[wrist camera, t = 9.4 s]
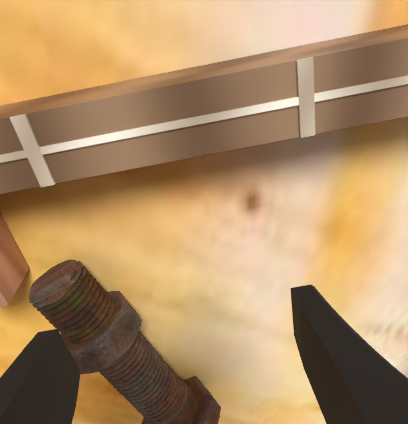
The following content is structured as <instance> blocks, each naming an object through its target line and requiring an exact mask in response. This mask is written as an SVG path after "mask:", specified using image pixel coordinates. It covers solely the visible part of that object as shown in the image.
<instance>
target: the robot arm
mask: <svg viewBox="0 0 408 424" xmlns="http://www.w3.org/2000/svg"><path fill="white" fill-rule="evenodd" d="M291 299H292V312H293V325H294V336H295V339H296V343H297V346H298V350H299V353H300V357H301V360H302V363H303V367H304V369H305V372H306V374H307V377H308V379H309V382H310V384H311V387H312V389H313V392H314V394H315V396H316V399H317V401H318V404H319V406H320V409H321V411H322V413H323V416H324V418H325V421H326V423H327V424H408V378H407V377H405V376H404V375H403V374H402V373H401V372H399V371H398V370H397V369H396V368H395V367H394V366H392V365H391V364H390V363H389V362H388V361H387V360H386V359H384V358H383V357H382V356H381V355H380V354H379V353H378V352H376V351H375V350H374V349H373V348H372V347H371V346H370V345H369V344H368V343H367V342H366V341H365V340H364V339H363V338H362V337H361V336H360V335H359V334H357V333H356V332H355V331H354V330H353V329H352V328H351V327H350V326H349V325H348V324H347V323H346V322H345V321H344V320H343V319H342V317H341V316H340V315H339V314H338V313H337V312H336V311H335V310H334V309H333V308H332V307H331V306H330V304H329V303H328V302H327V301H326V300H325V299H324V298H323V296H322V295H321V294H320V293H319V292H318V291H317V289H316V288H315V287H314V286H312V285H306V286H300V287H295V288H291ZM79 379H80V370H79V368H78V366H77V364H76V362H75V361H74V359H73V357H72V355H71V353H70V351H69V350H68V348H67V346H66V344H65V342H64V340H63V339H62V337H61V335H60V333H59V331H58V329H54V330H49V331H43V332H38V333H37V334H36V335H35V337H34V338H33V339H32V340H31V341H30V342H29V344H28V345H27V346H26V347H25V348H24V350H23V351H22V352H21V353H20V355H19V356H18V357H17V358H16V359H15V361H14V362H13V363H12V364H11V366H10V367H9V368H8V369H7V370H6V372H5V373H4V374H3V375H2V376H1V378H0V424H71V423H72V419H73V415H74V411H75V407H76V401H77V395H78V387H79Z"/></svg>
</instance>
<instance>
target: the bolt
mask: <svg viewBox="0 0 408 424" xmlns="http://www.w3.org/2000/svg"><path fill="white" fill-rule="evenodd" d="M29 302H30V303H33V307H35V308H37V310H38V311H41V314H42V315H43V316H45V318H46V319H47V320H49V322H50V323H51V324H53V326H54V327H55V328H57V329H58V331H59V332H61V334H60V335H61V337H62V339H63V340H64V342H65V344H66V346H67V348H68V350H69V351H70V353H71V355H72V357H73V359H74V361H75V362H76V364H77V366H78V368H79V370H80V374H88V373H94V372H98V371H99V372H100V373H101V375H103V376H104V377H105V378H106V379H107V380H108V382H110V383H111V385H113V386H114V388H116V389H117V391H119V392H120V394H122V395H123V396H124V397H125V398H126V399H127V400H128V401H129V402H130V403H131V404H132V405H133V406H134V407H135V408H136V409H137V410H138V412H140V413H141V414H142V415H143V416H144V420H143V422H142V423H141V424H218V421H219V417H220V410H221V407H220V406H219V404H218V403H217V402H216V400H215V399H214V398H213V397H212V395H211V394H210V393H209V392H208V390H207V389H206V388H205V387H204V385H203V384H202V383H201V382H200V380H199V379H198V378H197V377H196V376H194V377H191V378H188V379H186V380H182V379H181V378H179V377H178V376H177V375H176V374H175V373H174V371H173V370H172V369H171V368H170V367H169V366H168V364H167V363H166V362H165V361H164V360H163V358H162V357H161V356H160V355H159V354H158V353H157V351H156V350H155V349H154V348H153V347H152V345H151V344H150V343H149V342H148V341H147V340H146V338H145V337H144V336H143V335H142V334H141V332H140V331H139V328H140V325H141V321H142V320H141V318H140V317H139V315H138V314H137V313H136V311H135V310H134V309H133V307H132V306H131V305H130V304H129V302H128V301H127V300H126V299H125V297H124V296H123V295H122V294H121V293H120V291H111V292H107V293H106V291H104V290H103V288H102V287H101V286H100V284H99V283H97V281H96V279H94V278H93V276H92V275H91V274H89V272H88V270H86V267H85V266H83V265H82V263H81V262H80V261H75V260H67V261H64V262H62V263H60V264H58V265H56V266H54V267H52V268H51V269H49V270H48V271H47V272H46V273H44V274H43V275H42V276H41V277H40V278H38V279H37V280H36V281H35V282H34V283H33V284H32V286H31V288H30V293H29Z"/></svg>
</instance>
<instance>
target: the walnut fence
mask: <svg viewBox="0 0 408 424" xmlns="http://www.w3.org/2000/svg"><path fill="white" fill-rule="evenodd" d="M403 117H408V25H403V26H398V27H393V28H388V29H383V30H378V31H373V32H368V33H363V34H358V35H353V36H348V37H343V38H338V39H333V40H328V41H323V42H318V43H313V44H308V45H303V46H298V47H293V48H288V49H283V50H278V51H273V52H268V53H263V54H258V55H253V56H248V57H243V58H238V59H233V60H228V61H223V62H218V63H213V64H208V65H203V66H198V67H193V68H188V69H183V70H178V71H173V72H168V73H163V74H158V75H153V76H148V77H143V78H138V79H133V80H128V81H123V82H118V83H113V84H108V85H103V86H98V87H93V88H88V89H83V90H78V91H73V92H68V93H63V94H58V95H53V96H48V97H43V98H38V99H33V100H28V101H23V102H18V103H13V104H8V105H3V106H0V194H3V193H8V192H14V191H19V190H24V189H30V188H35V187H40V186H41V187H46V186H51V185H55V184H56V183H61V182H66V181H72V180H77V179H82V178H87V177H93V176H98V175H103V174H108V173H114V172H119V171H124V170H129V169H135V168H140V167H145V166H150V165H156V164H161V163H166V162H171V161H177V160H182V159H187V158H192V157H198V156H203V155H208V154H213V153H219V152H224V151H229V150H235V149H240V148H245V147H250V146H256V145H261V144H266V143H271V142H277V141H282V140H287V139H292V138H298V137H300V138H303V137H309V136H314V135H315V134H319V133H324V132H329V131H334V130H340V129H345V128H350V127H355V126H361V125H366V124H371V123H376V122H382V121H387V120H392V119H397V118H403ZM28 270H29V266H28V264H27V263H26V261H25V259H24V257H23V255H22V253H21V251H20V249H19V248H18V246H17V244H16V242H15V240H14V238H13V236H12V235H11V233H10V231H9V229H8V227H7V225H6V223H5V221H4V220H3V218H2V216H1V214H0V307H3V306H8V305H9V304H10V302H11V301H12V299H13V297H14V295H15V293H16V292H17V290H18V288H19V286H20V284H21V283H22V281H23V279H24V277H25V275H26V274H27V272H28Z"/></svg>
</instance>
